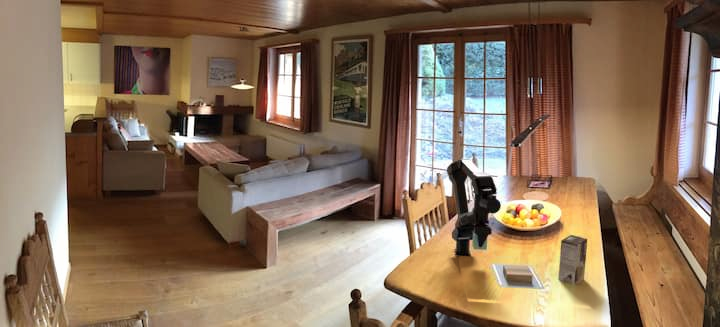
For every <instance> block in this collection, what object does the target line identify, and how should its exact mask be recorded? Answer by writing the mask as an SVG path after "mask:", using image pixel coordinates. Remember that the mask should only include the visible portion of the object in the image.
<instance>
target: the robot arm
mask: <svg viewBox="0 0 720 327" xmlns="http://www.w3.org/2000/svg"><path fill="white" fill-rule="evenodd" d="M446 173H447V176H448V180H449V181H450V183H451V184H452V185H453V189H454V190H453V191H454V198H455V199H454V200H455V206H456V212H457V219H456V221H455V223H454V229H453V230H452V232H451V238H452V239H453V241H455V248H454V255H456V256H471V255H472V254H471V250H470V247H471V246H470V245H471V244H470V243H471V241H473V231H474V233H475V234H476V235H477V237H478V244H479V247H482V246H483V244H484V242H485V240H486V239H487V240H488V236H491V235H492V233H493V232H492V231H493V230H492V227H491V226H490V225H489V224H490V221H489V215H490V214H496V213H498V212H499V211H501V206H502V204H501V202H500V200H499V199H497V187H496V184H495V181H494V178H493V177H492V176H491V175H490V174H489V173H487V172H482V171H481V170H480V169H479V168H478V167H477V165H475V164H474V163H473V162H472V160H471V159H470V158H459V159H458V160H456V161H454V162H451V163H450V164H449V165H448V166H447V167H446ZM467 178H469V179H470V180H471V182H470V185H471V187H472V188H473V191H472V193H473V195H474V197H473V198H474V200H473V207H472V209H471V210H472V211H469V205H468V197H467V192H466V191H467V190H466V180H467Z"/></svg>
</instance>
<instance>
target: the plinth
mask: <svg viewBox="0 0 720 327" xmlns="http://www.w3.org/2000/svg"><path fill="white" fill-rule="evenodd" d="M517 265H518V264H510V265H503V274H504V276H505V279H506V281H507V282H520V283H532V278H533V275H532V273H531V271H530V270H529V268H528V266H517Z"/></svg>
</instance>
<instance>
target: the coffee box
mask: <svg viewBox="0 0 720 327" xmlns="http://www.w3.org/2000/svg"><path fill="white" fill-rule="evenodd" d="M587 247H588V238H586V237H585V238H584V237H581V236H578V235H572V234H569V235H568V236H566V237H565V238H563V239H561V243H560V253H559V263H558V264H559V267H558V276H557V277H558V278H557V279H558V280H559V281H562V282H565V283H569V284H573V285H575V286H577V285H578V284H579V283H580V282H581V283H582V281H583V280H585V273H586V260H587Z"/></svg>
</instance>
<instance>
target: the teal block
mask: <svg viewBox="0 0 720 327" xmlns="http://www.w3.org/2000/svg"><path fill="white" fill-rule="evenodd" d="M471 245H472V248H473V250H477V251H478V250H479V251H481V250H485V251H487V249H488V238H487V239H486V240H485V242H484V244H483V246H482V247H479V244H478V237H477V235H476V234H475V233H474V231H473V240H472V244H471Z"/></svg>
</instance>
